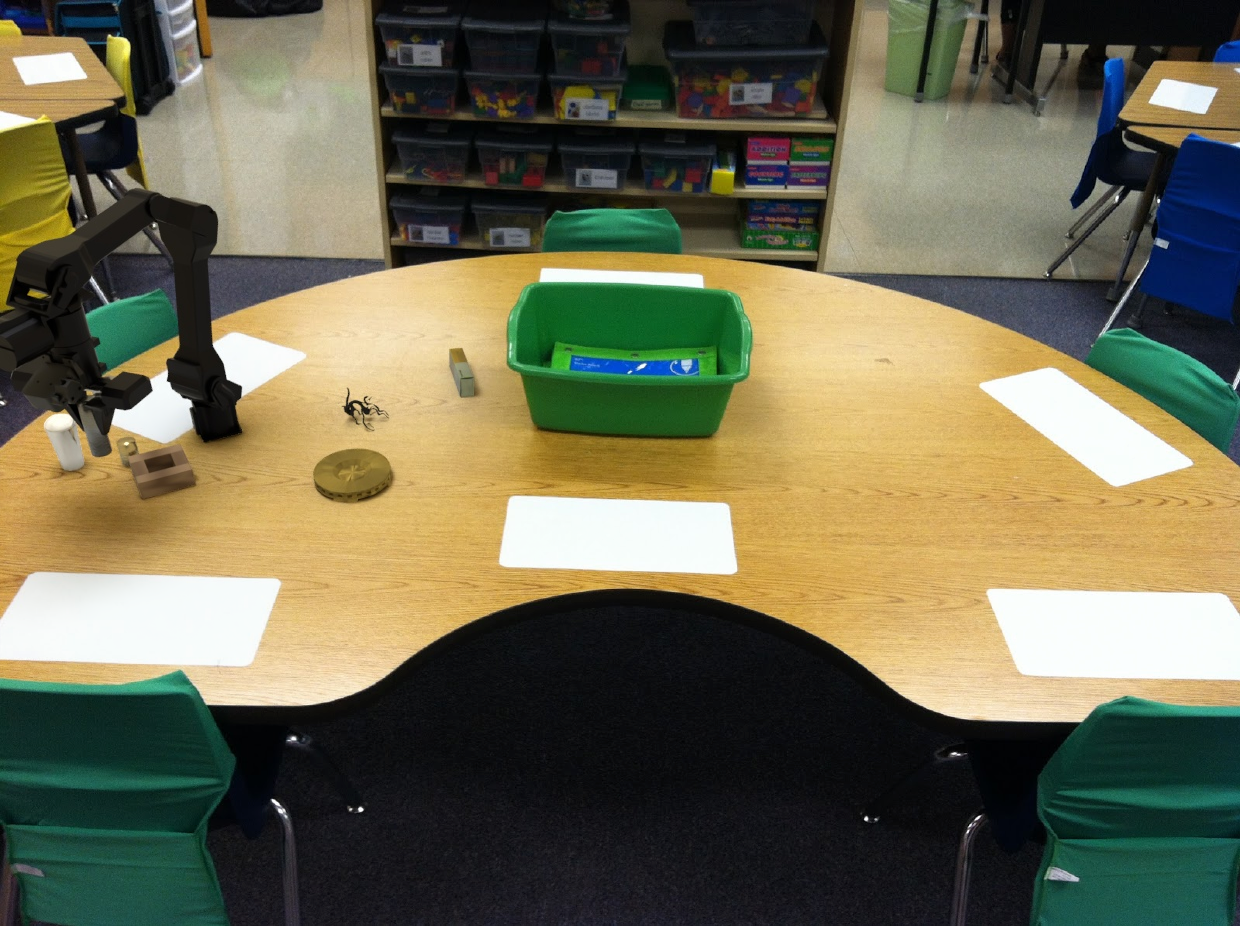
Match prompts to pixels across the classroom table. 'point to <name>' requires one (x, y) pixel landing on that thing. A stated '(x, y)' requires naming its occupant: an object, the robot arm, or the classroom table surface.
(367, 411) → the creature
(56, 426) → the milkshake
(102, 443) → the long pin
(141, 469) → the collar
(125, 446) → the short pin
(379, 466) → the compass
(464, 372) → the medication box
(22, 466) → the classroom table surface
